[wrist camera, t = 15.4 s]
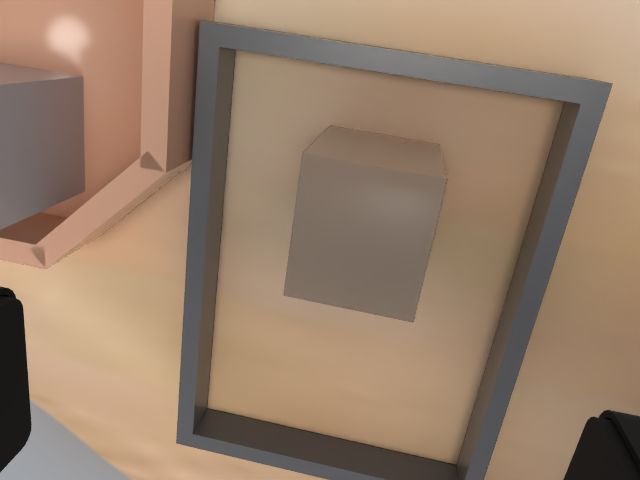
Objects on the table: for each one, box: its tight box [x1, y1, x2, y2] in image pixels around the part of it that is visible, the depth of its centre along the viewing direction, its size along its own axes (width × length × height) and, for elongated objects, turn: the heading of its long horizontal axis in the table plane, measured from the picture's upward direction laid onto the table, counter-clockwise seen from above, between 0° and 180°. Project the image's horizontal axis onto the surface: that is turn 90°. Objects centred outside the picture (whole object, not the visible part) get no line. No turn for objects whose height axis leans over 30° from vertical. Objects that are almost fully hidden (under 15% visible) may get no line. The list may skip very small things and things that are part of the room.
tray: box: [176, 21, 612, 480], centre depth 24 cm, size 15×20×2 cm
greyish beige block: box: [284, 126, 447, 322], centre depth 20 cm, size 4×5×6 cm
